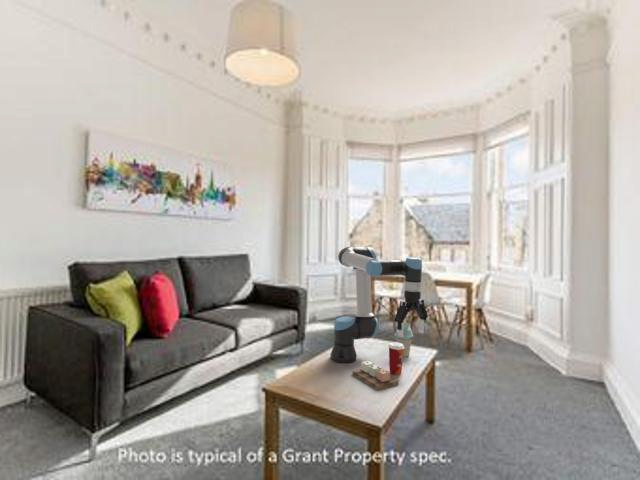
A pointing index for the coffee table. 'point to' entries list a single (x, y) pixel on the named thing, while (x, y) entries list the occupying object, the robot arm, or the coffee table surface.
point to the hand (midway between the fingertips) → (410, 334)
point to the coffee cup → (395, 357)
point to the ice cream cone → (405, 339)
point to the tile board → (374, 380)
